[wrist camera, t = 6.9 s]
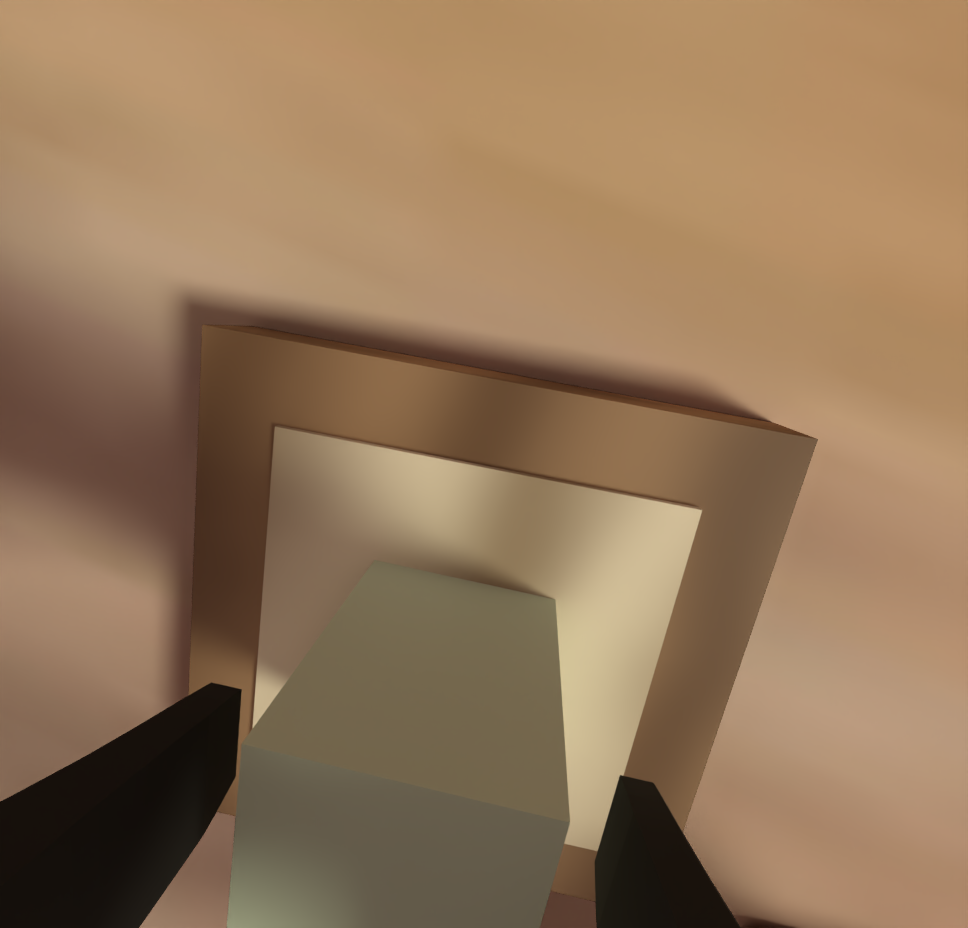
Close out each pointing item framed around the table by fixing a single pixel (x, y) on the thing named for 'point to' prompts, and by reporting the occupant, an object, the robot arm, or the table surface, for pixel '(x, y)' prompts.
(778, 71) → the table surface
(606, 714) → the plinth
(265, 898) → the sage block
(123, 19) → the table surface
